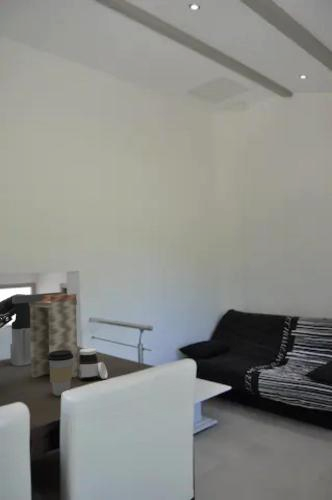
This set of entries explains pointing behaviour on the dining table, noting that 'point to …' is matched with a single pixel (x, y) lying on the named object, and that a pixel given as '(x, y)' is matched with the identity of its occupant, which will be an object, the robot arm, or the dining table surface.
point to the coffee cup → (60, 370)
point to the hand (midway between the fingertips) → (11, 308)
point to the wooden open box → (52, 331)
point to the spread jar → (90, 365)
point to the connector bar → (30, 297)
